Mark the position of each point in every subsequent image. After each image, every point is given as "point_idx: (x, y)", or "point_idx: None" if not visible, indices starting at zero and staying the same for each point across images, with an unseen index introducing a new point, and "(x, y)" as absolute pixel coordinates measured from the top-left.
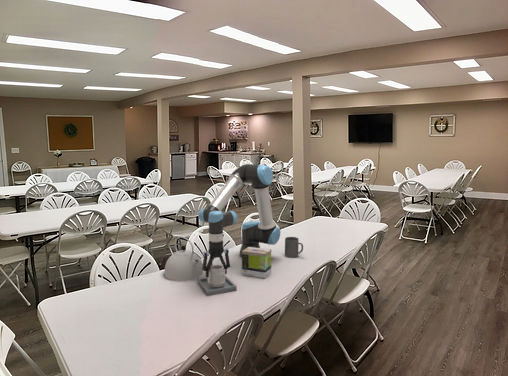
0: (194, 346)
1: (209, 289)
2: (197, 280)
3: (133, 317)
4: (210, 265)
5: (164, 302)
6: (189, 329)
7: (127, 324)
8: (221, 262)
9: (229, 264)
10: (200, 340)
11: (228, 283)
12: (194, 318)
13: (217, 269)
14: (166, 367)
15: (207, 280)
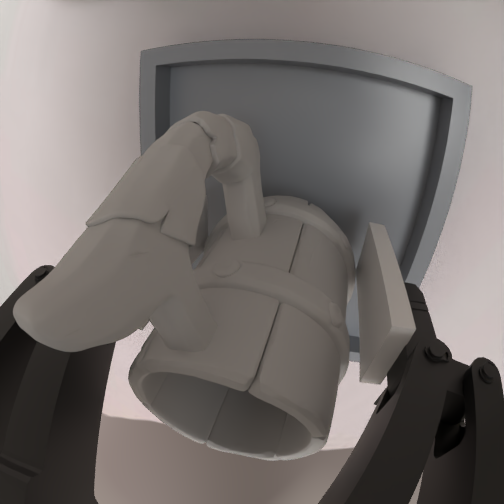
0: (126, 416)
1: (200, 259)
2: (147, 62)
3: (4, 271)
4: (94, 402)
5: (28, 238)
6: (113, 390)
7: (8, 291)
8: (379, 443)
9: (450, 441)
10: (135, 417)
11: (401, 250)
12: (120, 375)
13: (199, 441)
14: None
15: (254, 63)
